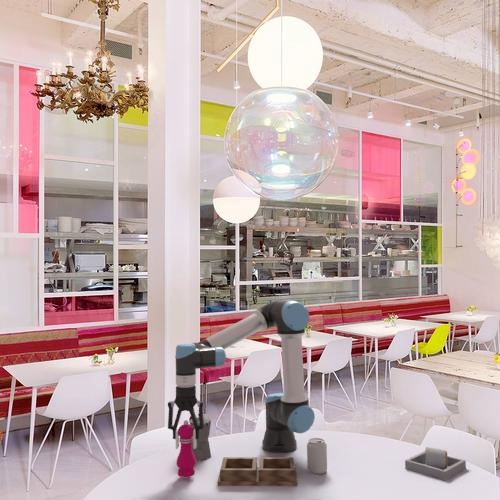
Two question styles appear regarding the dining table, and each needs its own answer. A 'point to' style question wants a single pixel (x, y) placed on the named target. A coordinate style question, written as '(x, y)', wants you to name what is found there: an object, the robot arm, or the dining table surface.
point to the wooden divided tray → (257, 472)
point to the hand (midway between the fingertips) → (186, 447)
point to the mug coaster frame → (416, 465)
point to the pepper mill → (186, 451)
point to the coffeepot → (202, 440)
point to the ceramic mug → (436, 458)
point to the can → (317, 456)
